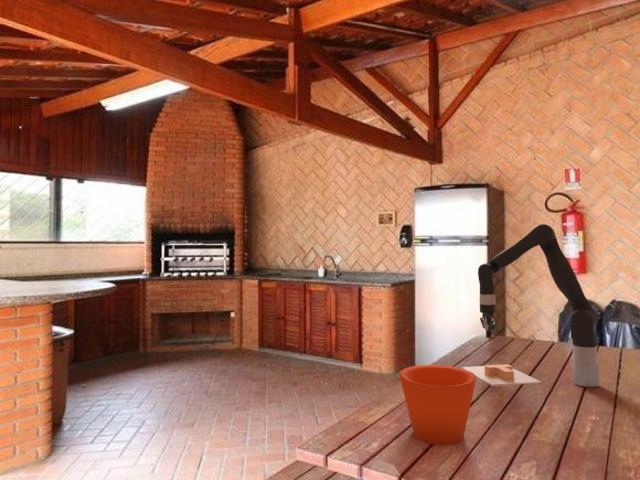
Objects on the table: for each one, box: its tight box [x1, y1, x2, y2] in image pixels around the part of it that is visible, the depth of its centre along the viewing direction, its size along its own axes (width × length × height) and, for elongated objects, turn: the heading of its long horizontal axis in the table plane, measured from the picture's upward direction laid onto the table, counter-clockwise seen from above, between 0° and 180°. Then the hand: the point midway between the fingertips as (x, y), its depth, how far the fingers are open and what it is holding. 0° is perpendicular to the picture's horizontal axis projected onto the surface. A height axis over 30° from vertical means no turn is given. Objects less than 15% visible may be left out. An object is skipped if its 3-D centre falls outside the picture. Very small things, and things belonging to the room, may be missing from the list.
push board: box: [461, 365, 542, 387], centre depth 217 cm, size 30×24×1 cm
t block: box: [484, 363, 514, 381], centre depth 213 cm, size 12×12×4 cm
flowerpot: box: [398, 364, 477, 446], centre depth 151 cm, size 25×25×20 cm
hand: (488, 337), depth 226 cm, fingers closed
